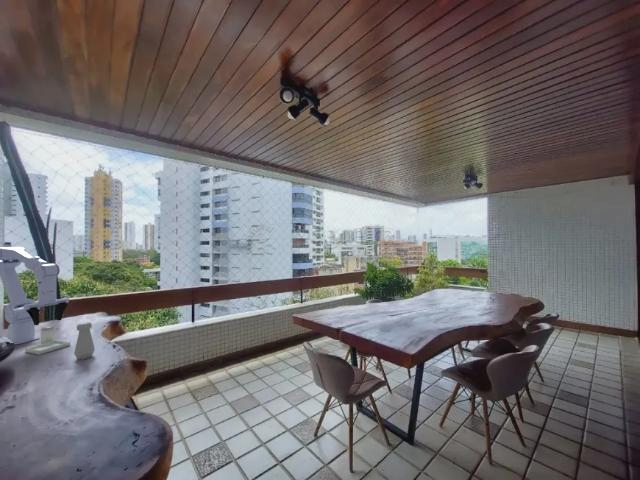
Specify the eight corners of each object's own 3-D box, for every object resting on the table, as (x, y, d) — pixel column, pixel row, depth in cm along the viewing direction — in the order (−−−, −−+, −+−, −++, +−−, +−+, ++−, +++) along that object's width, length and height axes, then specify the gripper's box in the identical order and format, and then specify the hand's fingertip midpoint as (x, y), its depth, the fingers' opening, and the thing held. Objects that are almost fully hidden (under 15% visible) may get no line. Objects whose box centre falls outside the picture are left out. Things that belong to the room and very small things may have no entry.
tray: (25, 351, 111) (25, 348, 111) (56, 343, 120) (56, 339, 120) (39, 354, 107) (39, 351, 107) (70, 345, 117) (70, 342, 117)
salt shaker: (85, 360, 100) (84, 325, 101) (70, 361, 100) (69, 325, 101) (98, 354, 106) (98, 320, 106) (84, 354, 106) (83, 320, 106)
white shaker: (38, 344, 119) (38, 328, 119) (51, 340, 124) (51, 325, 124) (44, 345, 118) (44, 329, 118) (57, 341, 122) (57, 326, 122)
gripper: (30, 294, 113) (30, 328, 113) (72, 289, 126) (73, 318, 126) (20, 294, 115) (21, 326, 115) (63, 288, 129) (64, 317, 129)
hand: (47, 322), depth 121 cm, fingers open, 7 cm apart
